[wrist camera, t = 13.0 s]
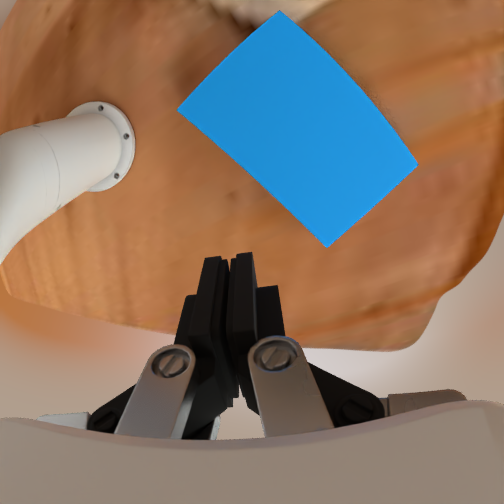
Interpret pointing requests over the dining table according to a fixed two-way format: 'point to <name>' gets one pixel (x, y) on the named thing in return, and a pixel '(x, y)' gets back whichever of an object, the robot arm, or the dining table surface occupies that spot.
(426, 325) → the dining table surface
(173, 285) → the dining table surface
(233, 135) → the book
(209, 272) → the robot arm
